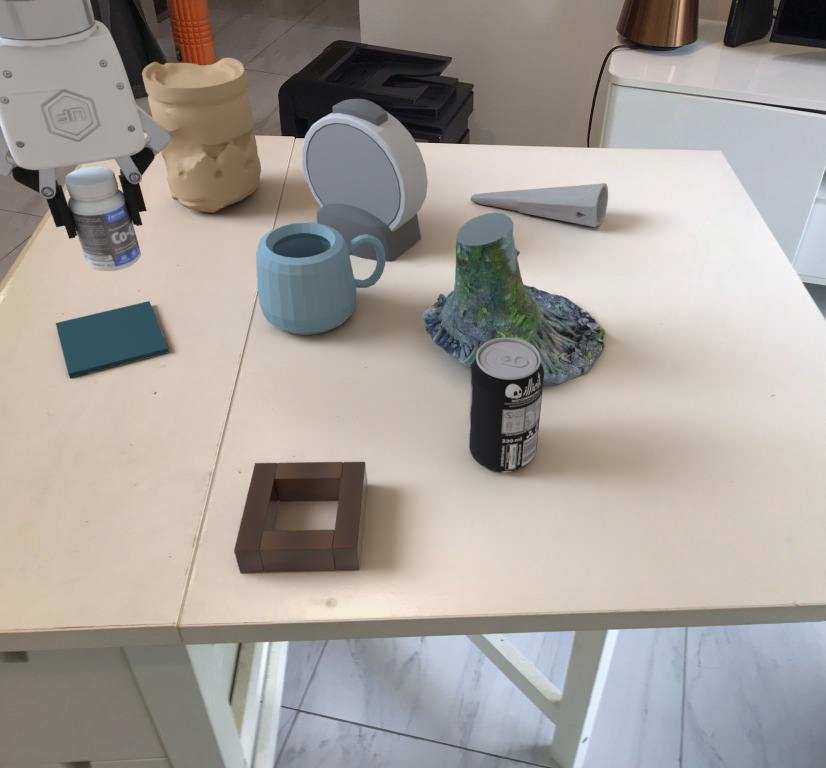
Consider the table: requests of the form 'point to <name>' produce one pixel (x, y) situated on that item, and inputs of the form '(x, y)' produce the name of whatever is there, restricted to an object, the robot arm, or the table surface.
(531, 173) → the table surface
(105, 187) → the pill bottle
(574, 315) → the tree stump
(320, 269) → the mug
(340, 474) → the peg block
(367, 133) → the alarm clock
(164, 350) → the mat
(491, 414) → the beverage can
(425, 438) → the table surface
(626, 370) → the table surface
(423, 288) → the table surface
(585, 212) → the long tapered cone
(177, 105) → the container
